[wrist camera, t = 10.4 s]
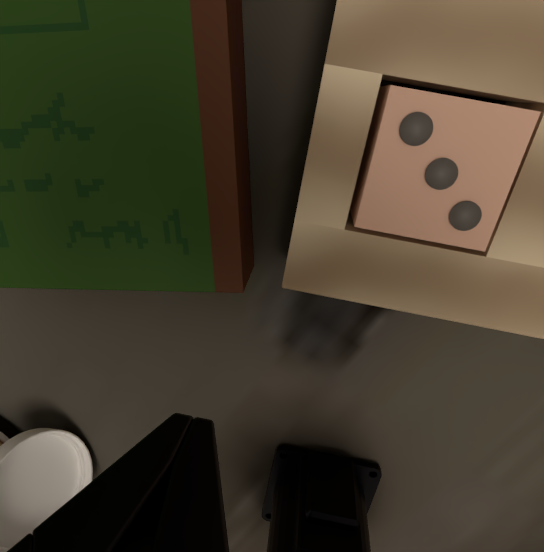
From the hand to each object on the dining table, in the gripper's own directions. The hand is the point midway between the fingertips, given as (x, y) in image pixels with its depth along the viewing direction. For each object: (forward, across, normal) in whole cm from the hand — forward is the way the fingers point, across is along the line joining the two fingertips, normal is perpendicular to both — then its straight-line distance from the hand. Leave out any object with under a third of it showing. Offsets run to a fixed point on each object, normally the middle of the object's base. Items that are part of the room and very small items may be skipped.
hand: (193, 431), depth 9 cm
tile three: (+13, -6, -5) cm, 15 cm away
